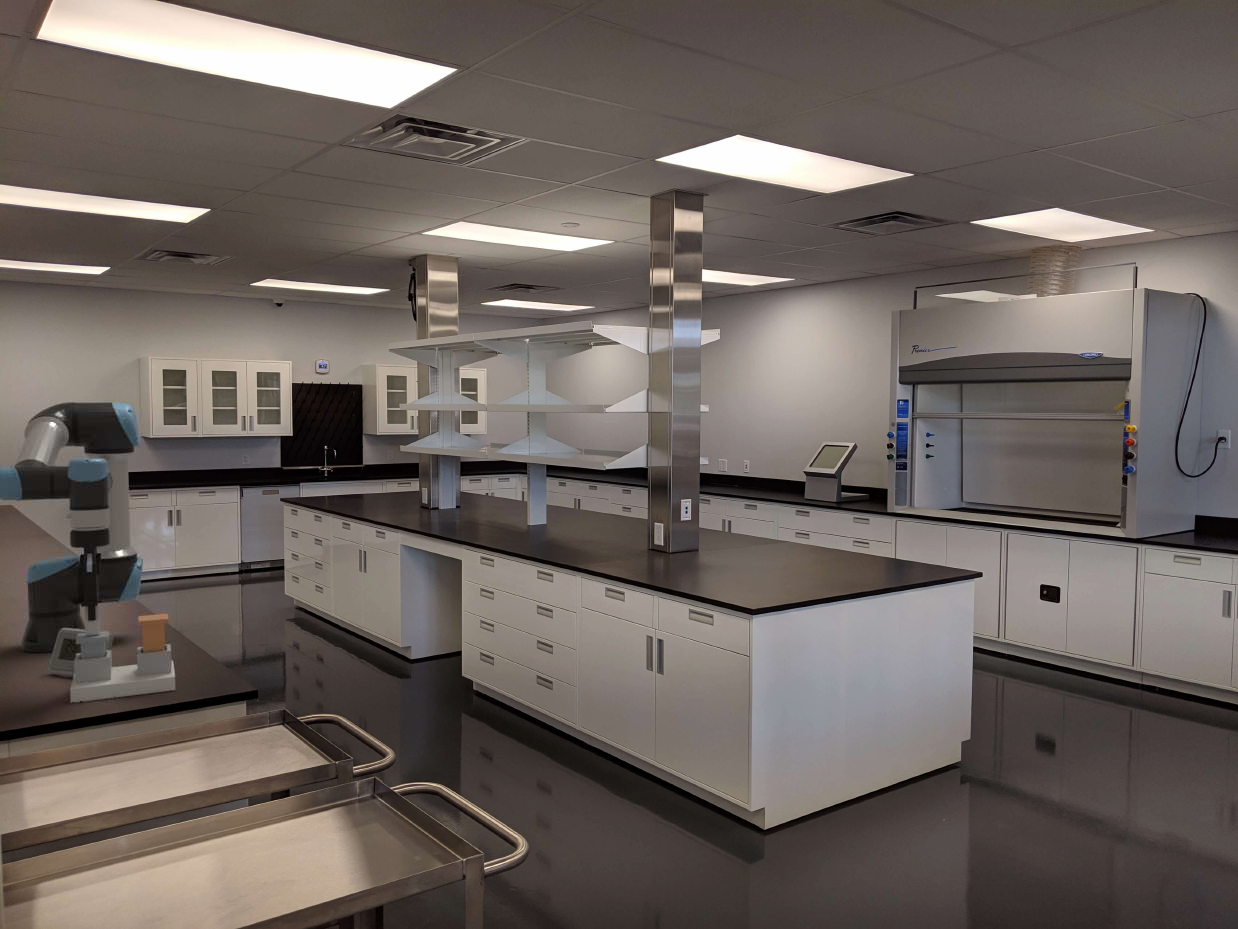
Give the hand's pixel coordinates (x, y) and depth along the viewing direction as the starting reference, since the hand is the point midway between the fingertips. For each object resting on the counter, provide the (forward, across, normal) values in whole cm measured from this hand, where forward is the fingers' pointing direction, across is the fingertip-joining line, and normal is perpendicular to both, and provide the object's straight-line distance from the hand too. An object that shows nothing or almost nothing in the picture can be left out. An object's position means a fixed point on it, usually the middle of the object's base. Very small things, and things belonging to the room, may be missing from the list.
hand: (92, 634), depth 199 cm
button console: (+13, 0, +6) cm, 14 cm away
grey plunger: (+8, 0, 0) cm, 8 cm away
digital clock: (+13, -15, -3) cm, 20 cm away
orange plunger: (+6, 0, +12) cm, 13 cm away
